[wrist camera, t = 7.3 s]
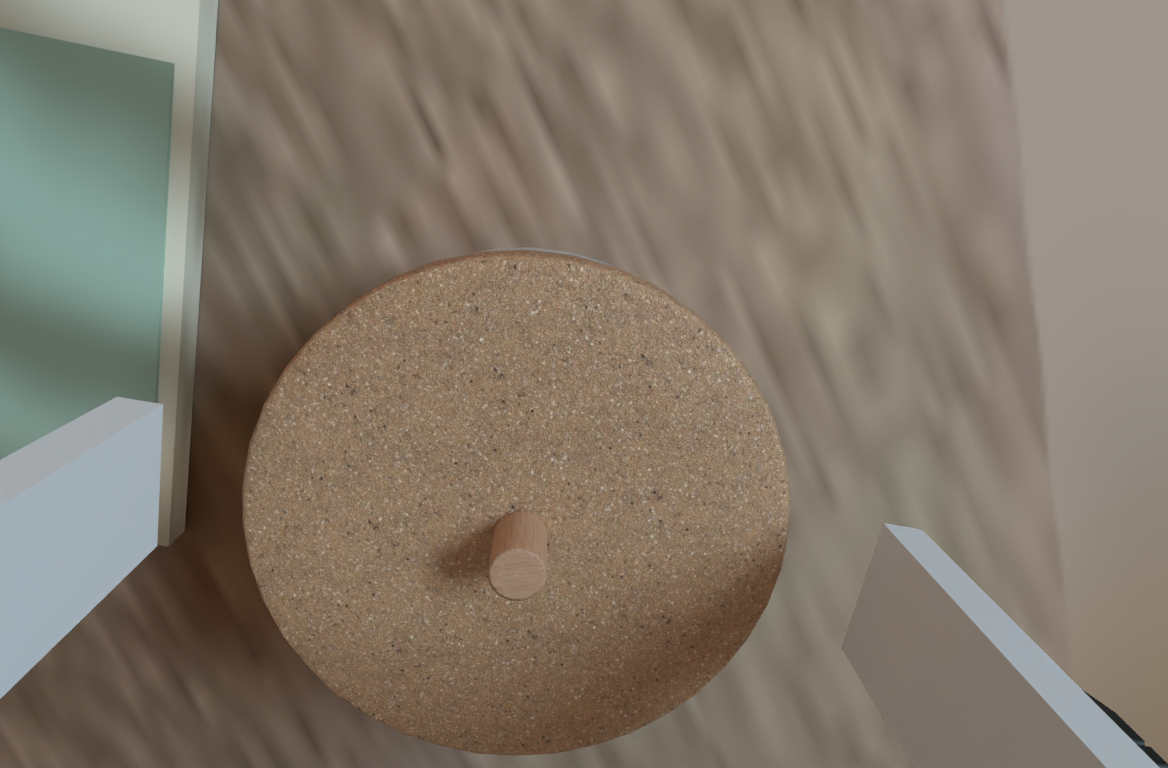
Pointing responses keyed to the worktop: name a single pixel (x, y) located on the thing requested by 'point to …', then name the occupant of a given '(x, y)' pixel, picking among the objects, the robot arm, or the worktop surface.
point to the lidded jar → (516, 502)
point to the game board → (103, 216)
